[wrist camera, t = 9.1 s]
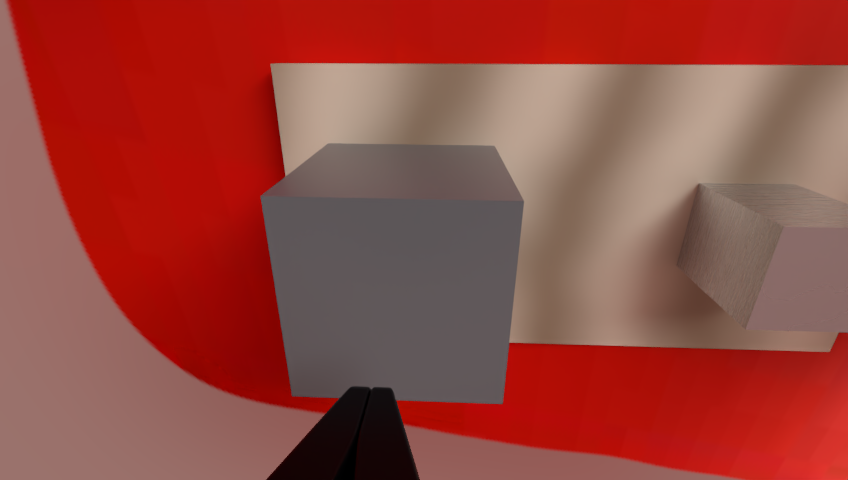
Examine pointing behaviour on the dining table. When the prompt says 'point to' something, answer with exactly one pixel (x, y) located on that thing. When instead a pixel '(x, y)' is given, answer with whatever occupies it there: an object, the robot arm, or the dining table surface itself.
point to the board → (598, 172)
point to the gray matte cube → (396, 270)
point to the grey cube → (770, 255)
